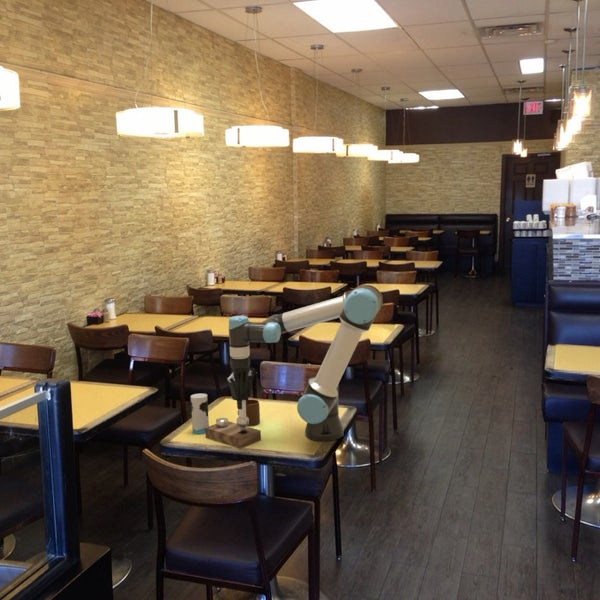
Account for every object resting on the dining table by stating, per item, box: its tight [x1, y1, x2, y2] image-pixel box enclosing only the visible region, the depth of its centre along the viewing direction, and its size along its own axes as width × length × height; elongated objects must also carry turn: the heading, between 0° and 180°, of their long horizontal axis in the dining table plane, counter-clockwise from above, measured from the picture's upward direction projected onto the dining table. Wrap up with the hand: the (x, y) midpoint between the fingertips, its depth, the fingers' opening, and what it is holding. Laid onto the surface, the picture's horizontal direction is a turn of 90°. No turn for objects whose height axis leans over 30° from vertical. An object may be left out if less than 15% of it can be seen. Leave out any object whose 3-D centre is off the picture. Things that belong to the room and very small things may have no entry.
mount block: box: [205, 420, 262, 450], centre depth 263 cm, size 20×11×4 cm, turn 49°
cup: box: [190, 393, 210, 435], centre depth 271 cm, size 7×7×15 cm
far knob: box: [215, 417, 229, 428], centre depth 266 cm, size 5×5×6 cm
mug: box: [237, 398, 261, 427], centre depth 278 cm, size 12×8×9 cm, turn 147°
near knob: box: [236, 416, 249, 434], centre depth 258 cm, size 5×5×6 cm
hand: (242, 416), depth 257 cm, fingers closed
